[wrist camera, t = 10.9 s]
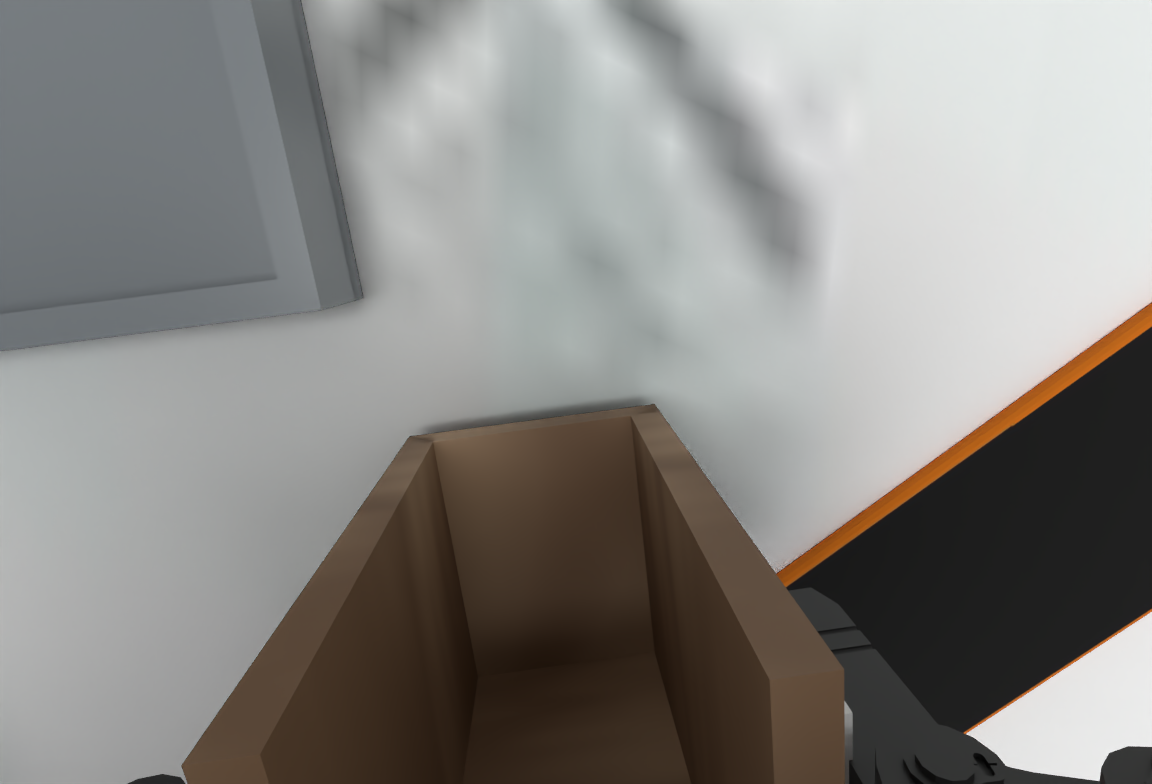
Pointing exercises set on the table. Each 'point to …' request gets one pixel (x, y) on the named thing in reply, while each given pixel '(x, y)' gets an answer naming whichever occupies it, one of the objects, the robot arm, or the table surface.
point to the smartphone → (1009, 540)
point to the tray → (163, 169)
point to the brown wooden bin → (538, 629)
